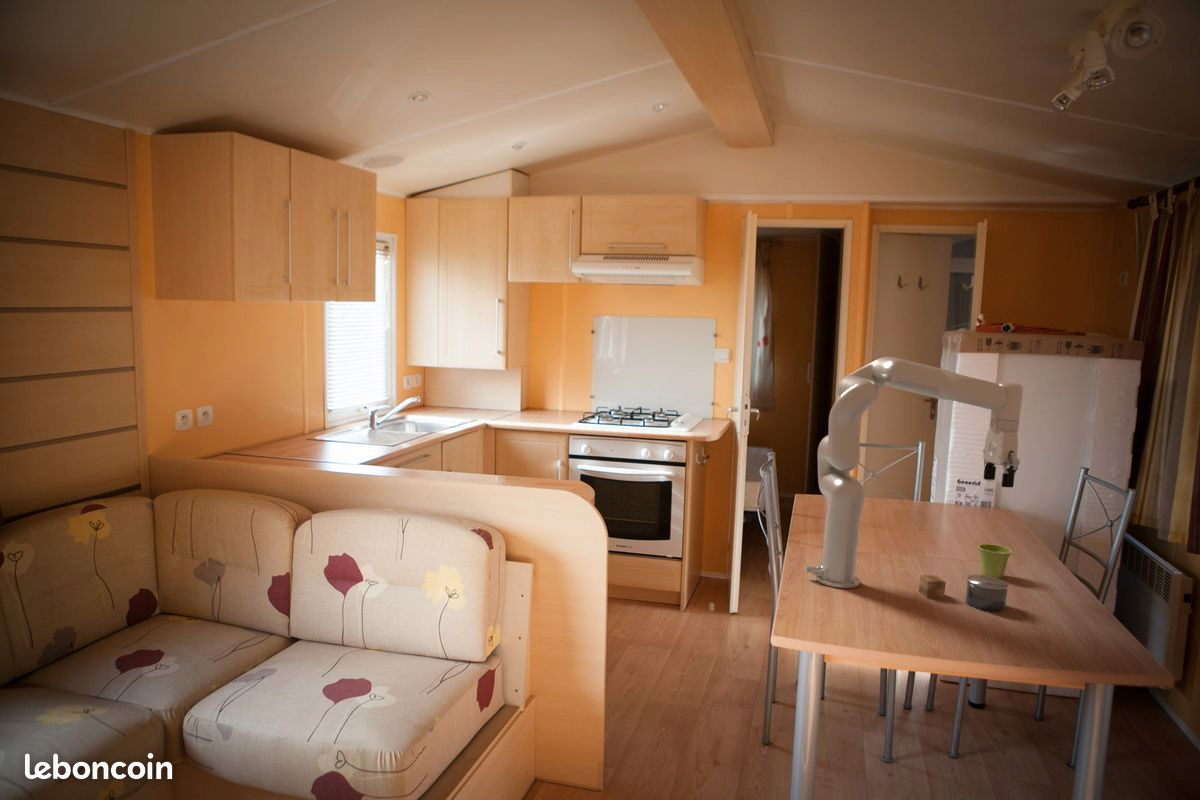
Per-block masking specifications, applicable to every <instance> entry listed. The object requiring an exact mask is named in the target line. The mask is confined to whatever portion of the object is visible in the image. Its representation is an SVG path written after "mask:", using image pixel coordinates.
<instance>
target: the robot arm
mask: <svg viewBox="0 0 1200 800" xmlns="http://www.w3.org/2000/svg"><path fill="white" fill-rule="evenodd" d="M884 387H888V388H889V387H890V388H892V389H897V390H901V391H904V392H905V391H906V392H909V393H912V394H913V393H914V394H918V395H922V396H926V397H931V398H933V399H934V398H935V399H938V400H945V401H952V402H956V403H957V402H958V403H961V404H964V405H965V404H967V405H970V406H975V407H978V408H983V409H986V410H990V411H991V412H990V419H989V428H988V430H987V433H986V437H985V443H984V449H983V451H982V452H983V455H982V458H983V461H984V462H983V466H984V468H983V469H984V470H983V480H987V481H994V480H995V478H996V472H997V471H996V470H997V466H1002V469H1003V472H1002V479H1001V487H1003V488H1013V487H1014V482H1015V475H1016V474H1017V471H1018V469H1019V465H1020V462H1021V461H1020V459H1019V458H1018V446H1019V445H1018V444H1019V443H1018V442H1019V441H1018V440H1019V438H1018V437H1019V436H1018V432H1019V427H1020V418H1021V411H1022V410H1021V408H1022V401H1023V391H1024V389H1023V386H1022V385H1021V384H1020V383H1016V382H1007V381H1001V382H1000V381H999V382H993V381H988V380H983V379H980V378H975V377H971V376H967V375H963V374H961V373H960V374H959V373H957V372H953V371H951V370H948V369H943V368H942V367H941V368H940V367H936V366H931V365H928V364H923V363H919V362H915V361H911V360H907V359H902V358H900V357H899V358H898V357H893V356H892V357H891V356H882V357H880V358H877V359H875V360H873V361H872V362H870V363H868V364H866V365H864V366H862V367H860V368H859V369H857V370H855V371H853V372H852V373H849V374H847V375H846V376H845V377H843V378H842V379H841V380H840V381H839V383H838V385H837V388H836V390H837V396H838V398H836V400H835V402H834V404H832V407H831V409H830V411H829V416H828V434H827V435H826V436H824V437H823V438H822V439H821V441H820V442H819V444H818V446H817V447H818V448H817V479H818V480H817V482H818V487H819V490H820V493H821V494H822V495H823V497H825V498H826V499H827V500H828V501H829V504H828V508H827V511H826V515H825V520H824V521H825V522H824V538H823V548H822V549H823V550H822V562H818V564H817V565H815V566H812V565H805V567H804V571H805V573H809V574H811V575H813V576H814V575H815V580H816V581H817V582H819V583H821V584H823V585H825V586H829V587H831V588H832V587H833V588H839V589H853V588H854V589H855V588H857V587H859V586H861V585H860V584H861V579H860V578H859V577H858V576H856V569H857V560H858V559H857V558H858V545H859V536H860V535H859V534H860V526H861V525H860V523H861V517H862V511H863V507H864V503H865V500H866V499H865V497H866V494H865V489H864V486H863V484H862V483H861V482H860V481H859V480H858V479H857V478H856V477H854V476H852V475H851V474H850V473H851V472H852V471H853V470H855V469H856V468H857V467H858V465H859V464H860V460H861V447H860V446H861V445H860V443H861V441H860V425H861V419H862V416H863V415H864V413H865V412H866V411H867V410H868V409H870V407H872V406H873V405H874V404H876V402H877V400H878V398H879V395H880V394H879V393H880V392H879V391H880V390H881V389H882V388H884Z"/></svg>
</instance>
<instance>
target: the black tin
mask: <svg viewBox="0 0 1200 800" xmlns="http://www.w3.org/2000/svg"><path fill="white" fill-rule="evenodd" d="M966 579H967V584H966V592H965V593H966V594H965V601H964V603H965V602H966V603H965V604H966V605H967V604H968V605H969V606H968V605H967V606H968V607H970V606H971V607H970V608H972V607H974V608H976V609H975V610H977V609H980V610H979V611H981V610H983V611H982V612H986V611H990V612H989V613H995V612H997V613H1002V612H1001V611H1003V612H1005V611H1006V609H1007V608H1006V605H1007V598H1008V591H1009V590H1008V589H1009V583H1008V582H1007V581H1005V580H1003V579H1002V578H994V577H990V576H984V575H982V574H981V575H980V574H972V575H968V576H967V578H966ZM974 608H973V609H974ZM1004 610H1005V611H1004Z"/></svg>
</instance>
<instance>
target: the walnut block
mask: <svg viewBox="0 0 1200 800" xmlns="http://www.w3.org/2000/svg"><path fill="white" fill-rule="evenodd" d="M919 576H920V577H919V585H918V592H919V593H920V594H921V593H922V594H923V595H924V596H923V595H922V594H921V595H922V596H923V597H924V598H926V597H929V598H928V599H942V598H944V599H945V594H946V593H945V592H946V591H945V590H946V581H945V580H944V579H943V578H941V577H940V576H938V575H933V574H931V575H930V574H929V575H926V574H923V575H922V574H920V575H919Z"/></svg>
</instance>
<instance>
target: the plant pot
mask: <svg viewBox="0 0 1200 800" xmlns="http://www.w3.org/2000/svg"><path fill="white" fill-rule="evenodd" d="M977 547H978V550H979V553H980V554H979V555H980V568H981V571H980V572H981V575H982V574H983V575H985V576H990V577H994V578H998V579H1002V577H1003V578H1004V576H1005V572H1006V568H1007V563H1008V561H1009V558H1010V555H1011V554H1012V553H1013V551H1012V549H1011V548H1008V547H1006V546H1002V545H999V544H998V545H997V544H990V543H981V544H979V545H977Z"/></svg>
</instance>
